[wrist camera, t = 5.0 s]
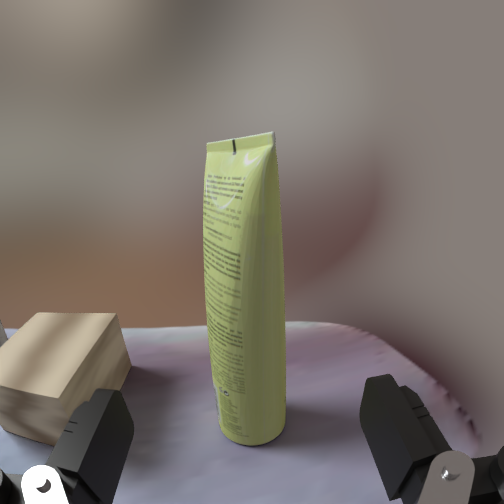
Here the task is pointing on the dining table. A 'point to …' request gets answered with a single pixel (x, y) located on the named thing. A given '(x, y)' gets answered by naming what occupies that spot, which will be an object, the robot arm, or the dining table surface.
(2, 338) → the small box
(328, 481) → the dining table surface
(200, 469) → the dining table surface
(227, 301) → the tube
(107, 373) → the birch block
